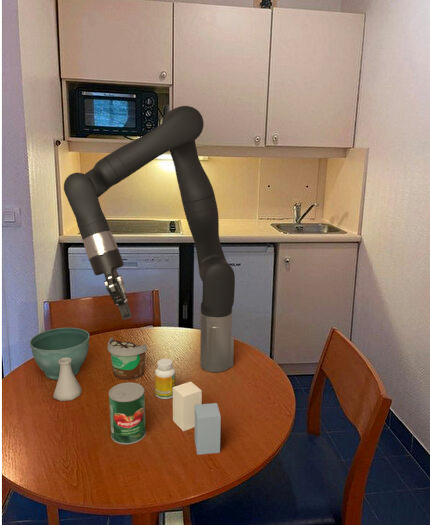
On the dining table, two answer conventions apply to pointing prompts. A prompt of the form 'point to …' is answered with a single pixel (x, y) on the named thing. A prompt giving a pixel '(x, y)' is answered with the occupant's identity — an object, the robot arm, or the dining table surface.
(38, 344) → the flower pot
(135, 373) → the food container
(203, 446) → the slate-blue block
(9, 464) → the dining table surface
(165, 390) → the supplement bottle
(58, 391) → the flask
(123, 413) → the canned tomato
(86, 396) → the dining table surface
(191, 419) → the cream block
